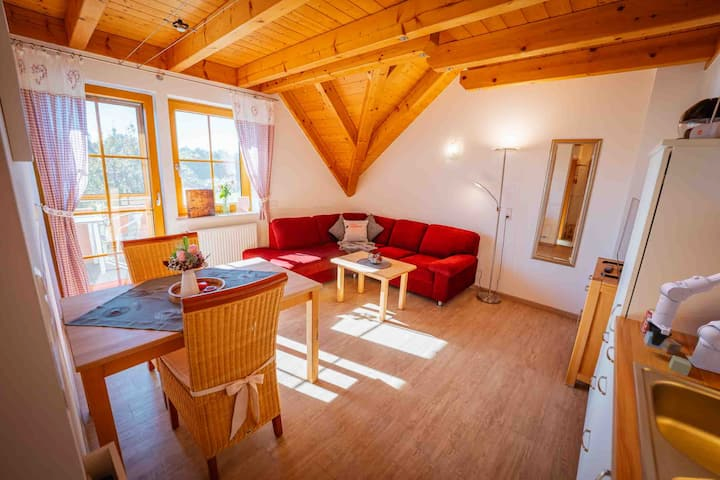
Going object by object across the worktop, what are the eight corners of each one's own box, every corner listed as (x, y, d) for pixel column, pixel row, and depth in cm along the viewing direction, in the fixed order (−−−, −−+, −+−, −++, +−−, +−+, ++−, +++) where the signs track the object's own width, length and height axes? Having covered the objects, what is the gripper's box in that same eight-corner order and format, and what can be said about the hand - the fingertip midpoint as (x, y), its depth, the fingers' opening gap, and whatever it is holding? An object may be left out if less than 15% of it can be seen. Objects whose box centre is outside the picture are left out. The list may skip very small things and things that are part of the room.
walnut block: (668, 348, 124) (672, 339, 123) (677, 354, 120) (682, 345, 119) (656, 346, 125) (660, 337, 123) (665, 353, 120) (669, 344, 119)
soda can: (636, 330, 136) (645, 307, 133) (647, 331, 136) (656, 308, 133) (646, 337, 131) (656, 313, 128) (658, 337, 131) (667, 314, 128)
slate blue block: (643, 340, 122) (647, 330, 120) (658, 344, 119) (662, 334, 118) (646, 345, 118) (649, 335, 117) (661, 349, 116) (665, 340, 114)
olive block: (685, 370, 110) (689, 360, 109) (686, 376, 107) (691, 366, 106) (668, 364, 113) (672, 354, 112) (669, 370, 110) (674, 360, 109)
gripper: (647, 302, 122) (636, 330, 126) (656, 316, 111) (644, 346, 114) (670, 307, 119) (658, 336, 122) (682, 322, 107) (669, 354, 111)
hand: (653, 341), depth 118 cm, fingers closed on slate blue block, 4 cm apart
